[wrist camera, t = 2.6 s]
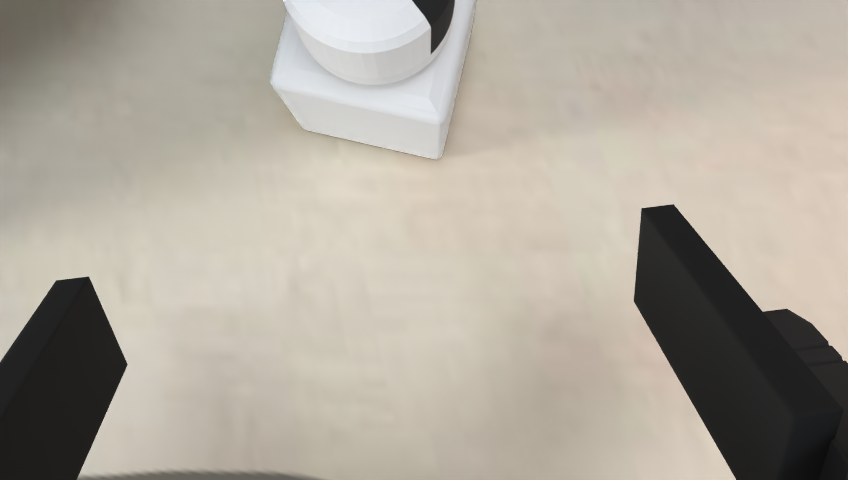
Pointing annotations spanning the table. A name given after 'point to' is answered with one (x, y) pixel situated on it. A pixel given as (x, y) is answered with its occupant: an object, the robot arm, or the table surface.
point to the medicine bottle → (374, 69)
